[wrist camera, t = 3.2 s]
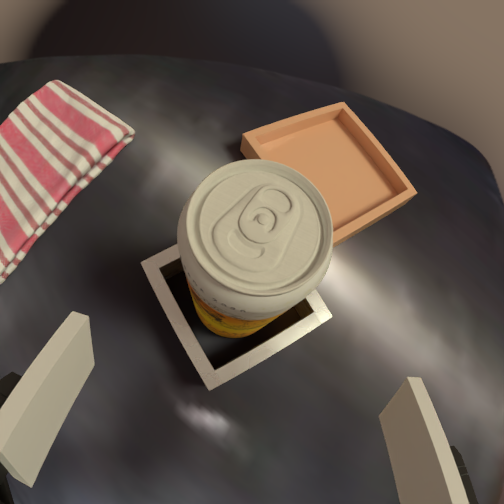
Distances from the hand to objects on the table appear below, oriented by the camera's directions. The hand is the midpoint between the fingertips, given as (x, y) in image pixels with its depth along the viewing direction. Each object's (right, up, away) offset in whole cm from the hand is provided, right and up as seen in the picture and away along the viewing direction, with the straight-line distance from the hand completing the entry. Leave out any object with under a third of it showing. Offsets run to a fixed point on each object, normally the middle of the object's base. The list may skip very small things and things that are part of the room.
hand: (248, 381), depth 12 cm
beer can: (-1, +1, +14) cm, 14 cm away
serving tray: (+8, +12, +19) cm, 24 cm away
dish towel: (-25, +13, +15) cm, 32 cm away
